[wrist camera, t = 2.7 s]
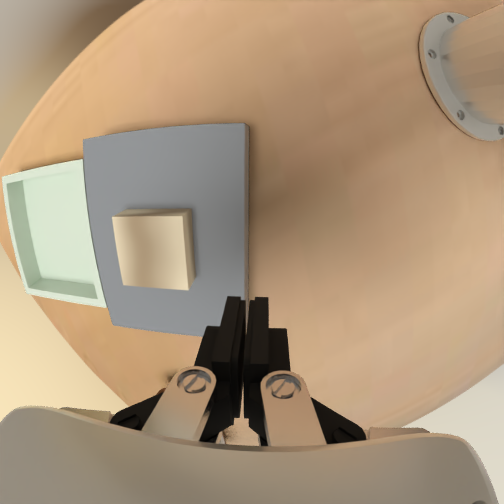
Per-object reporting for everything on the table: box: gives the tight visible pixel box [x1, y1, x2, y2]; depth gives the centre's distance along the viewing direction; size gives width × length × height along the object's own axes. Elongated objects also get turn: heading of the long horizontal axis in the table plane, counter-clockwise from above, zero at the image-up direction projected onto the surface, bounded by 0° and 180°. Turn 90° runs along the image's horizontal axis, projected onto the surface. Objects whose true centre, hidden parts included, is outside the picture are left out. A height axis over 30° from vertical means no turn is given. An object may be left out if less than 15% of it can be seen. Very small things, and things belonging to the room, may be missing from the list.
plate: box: [83, 123, 249, 337], centre depth 21 cm, size 12×16×4 cm
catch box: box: [2, 159, 108, 308], centre depth 22 cm, size 12×13×3 cm
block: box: [112, 209, 196, 290], centre depth 18 cm, size 5×5×2 cm
